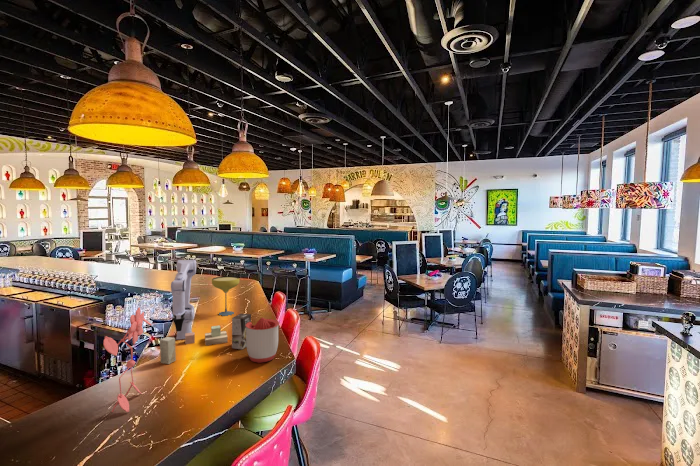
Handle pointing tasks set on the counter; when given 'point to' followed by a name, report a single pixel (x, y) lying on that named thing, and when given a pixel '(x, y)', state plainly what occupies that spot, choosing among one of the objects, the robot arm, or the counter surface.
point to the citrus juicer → (262, 340)
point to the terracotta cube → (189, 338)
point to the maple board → (216, 338)
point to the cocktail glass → (225, 288)
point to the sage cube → (215, 331)
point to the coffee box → (239, 330)
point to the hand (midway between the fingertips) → (179, 328)
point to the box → (167, 350)
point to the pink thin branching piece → (113, 349)
